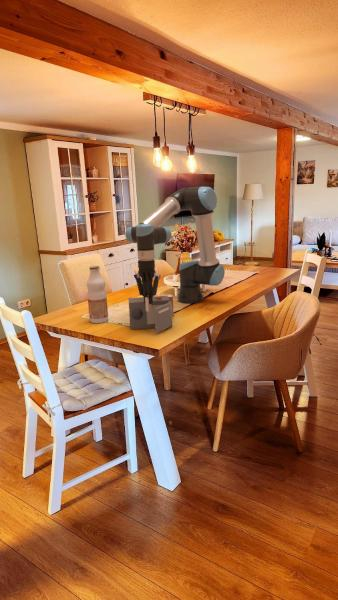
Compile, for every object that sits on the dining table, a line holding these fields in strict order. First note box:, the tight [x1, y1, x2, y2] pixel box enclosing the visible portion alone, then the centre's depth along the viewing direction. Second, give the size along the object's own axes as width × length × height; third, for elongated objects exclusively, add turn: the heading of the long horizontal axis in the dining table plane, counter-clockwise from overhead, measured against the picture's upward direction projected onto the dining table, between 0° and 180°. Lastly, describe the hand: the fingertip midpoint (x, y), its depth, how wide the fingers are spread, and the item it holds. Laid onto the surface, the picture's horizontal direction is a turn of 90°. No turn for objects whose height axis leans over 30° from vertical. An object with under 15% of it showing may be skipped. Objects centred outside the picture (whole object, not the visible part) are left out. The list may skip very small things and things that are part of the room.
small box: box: [155, 294, 175, 317], centre depth 206 cm, size 8×6×10 cm
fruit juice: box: [86, 265, 109, 324], centre depth 199 cm, size 9×9×28 cm
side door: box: [154, 301, 173, 334], centre depth 182 cm, size 12×1×12 cm, turn 147°
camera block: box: [128, 295, 170, 331], centre depth 190 cm, size 19×10×14 cm, turn 97°
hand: (148, 310), depth 183 cm, fingers closed
